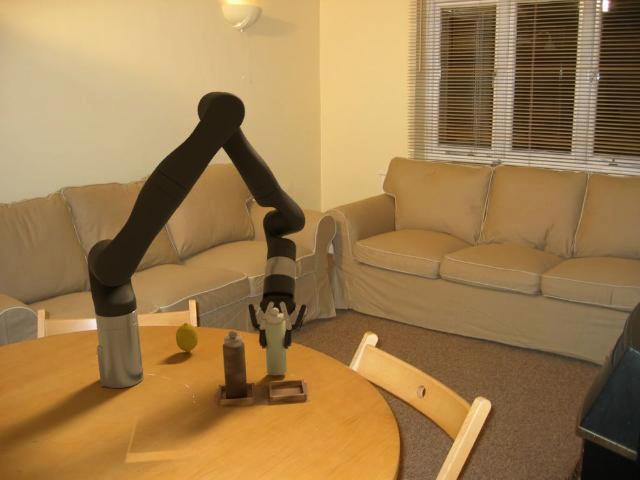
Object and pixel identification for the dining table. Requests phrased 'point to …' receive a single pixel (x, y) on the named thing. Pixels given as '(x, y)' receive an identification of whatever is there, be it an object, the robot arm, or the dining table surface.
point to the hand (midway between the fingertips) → (275, 347)
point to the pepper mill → (234, 366)
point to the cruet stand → (266, 394)
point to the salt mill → (275, 343)
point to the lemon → (187, 337)
